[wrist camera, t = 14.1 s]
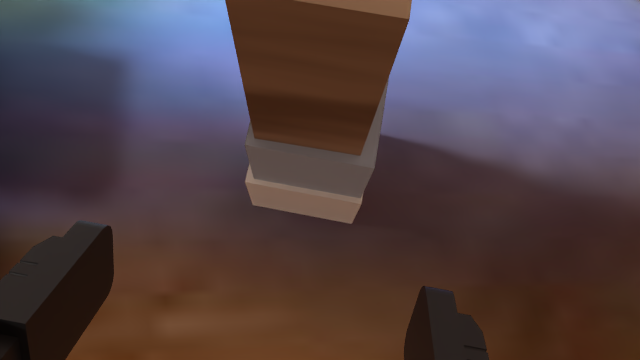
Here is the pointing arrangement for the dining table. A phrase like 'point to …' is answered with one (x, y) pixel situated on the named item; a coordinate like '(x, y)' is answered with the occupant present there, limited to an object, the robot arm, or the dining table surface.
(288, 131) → the pillar
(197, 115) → the dining table surface
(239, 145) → the dining table surface
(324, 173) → the block
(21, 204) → the dining table surface
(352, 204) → the tower base
